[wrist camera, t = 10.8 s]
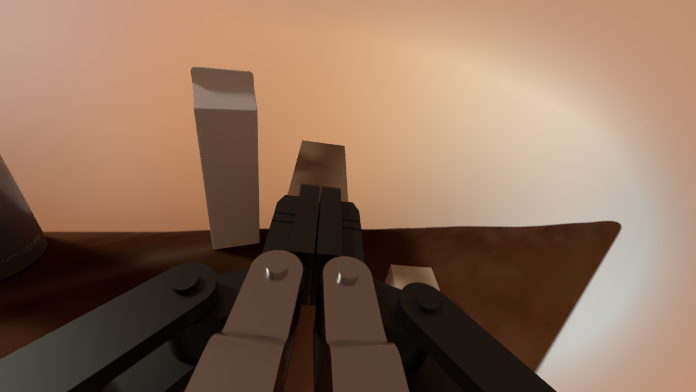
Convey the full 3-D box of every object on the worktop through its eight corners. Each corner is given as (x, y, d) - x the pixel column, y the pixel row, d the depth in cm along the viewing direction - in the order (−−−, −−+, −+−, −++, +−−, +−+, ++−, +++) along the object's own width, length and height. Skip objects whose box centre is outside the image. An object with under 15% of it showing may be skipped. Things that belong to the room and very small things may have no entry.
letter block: (387, 328, 32) (398, 300, 29) (381, 292, 36) (390, 264, 33) (431, 331, 32) (446, 304, 30) (420, 295, 37) (432, 268, 34)
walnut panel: (282, 288, 34) (286, 199, 27) (297, 214, 47) (302, 140, 40) (332, 291, 35) (349, 205, 28) (333, 217, 47) (345, 146, 41)
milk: (212, 222, 42) (190, 60, 30) (255, 218, 44) (250, 65, 33) (213, 251, 37) (187, 72, 26) (260, 244, 40) (257, 77, 28)
